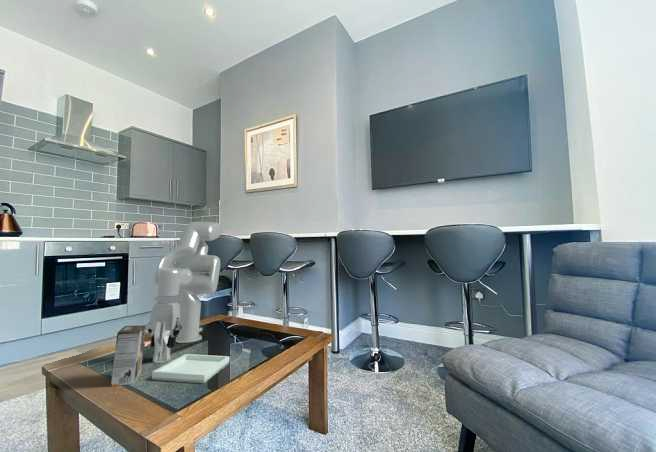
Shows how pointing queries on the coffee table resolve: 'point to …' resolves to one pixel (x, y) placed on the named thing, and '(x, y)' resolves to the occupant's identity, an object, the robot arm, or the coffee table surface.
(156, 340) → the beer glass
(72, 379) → the coffee table surface
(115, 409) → the coffee table surface
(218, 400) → the coffee table surface
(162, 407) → the coffee table surface
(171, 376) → the tray
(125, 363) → the coffee box
